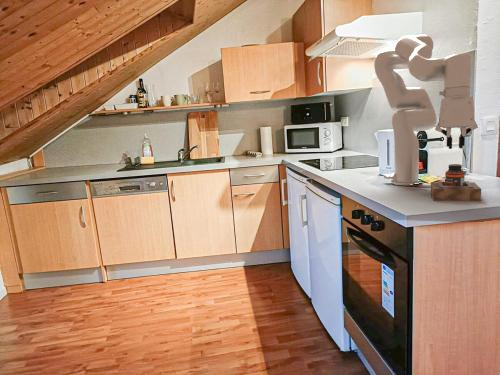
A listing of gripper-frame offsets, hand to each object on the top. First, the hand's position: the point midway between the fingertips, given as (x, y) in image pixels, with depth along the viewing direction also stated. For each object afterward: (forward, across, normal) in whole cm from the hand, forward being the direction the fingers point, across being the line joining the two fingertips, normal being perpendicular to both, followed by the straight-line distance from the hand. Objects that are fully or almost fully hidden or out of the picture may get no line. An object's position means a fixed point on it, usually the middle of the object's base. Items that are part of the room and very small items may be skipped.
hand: (455, 147), depth 123 cm
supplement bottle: (+17, 0, 0) cm, 17 cm away
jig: (+17, 0, 0) cm, 17 cm away
